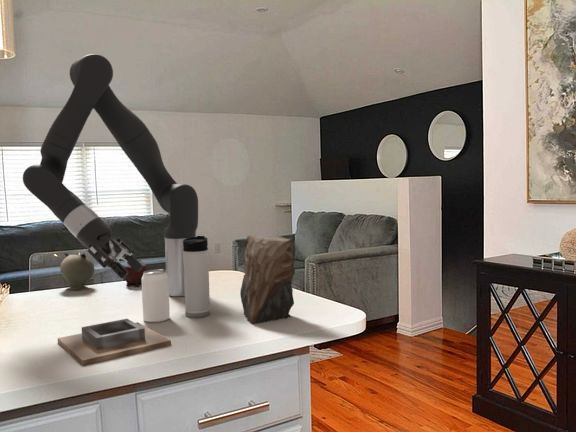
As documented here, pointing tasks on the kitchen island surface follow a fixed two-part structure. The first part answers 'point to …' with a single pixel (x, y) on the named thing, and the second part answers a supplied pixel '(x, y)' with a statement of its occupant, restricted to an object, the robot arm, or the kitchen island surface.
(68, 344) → the mount
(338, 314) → the kitchen island surface
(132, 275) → the mate gourd
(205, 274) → the travel mug
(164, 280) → the can
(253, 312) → the brown rock
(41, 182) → the robot arm
